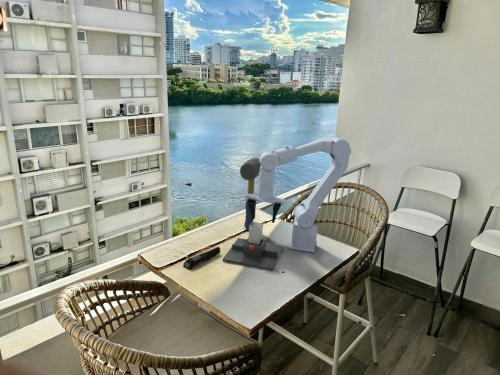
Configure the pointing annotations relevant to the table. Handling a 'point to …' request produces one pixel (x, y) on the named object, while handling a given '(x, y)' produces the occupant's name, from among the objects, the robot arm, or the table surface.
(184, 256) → the table surface
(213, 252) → the electric trimmer
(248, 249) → the stand base
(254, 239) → the column
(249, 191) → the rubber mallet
